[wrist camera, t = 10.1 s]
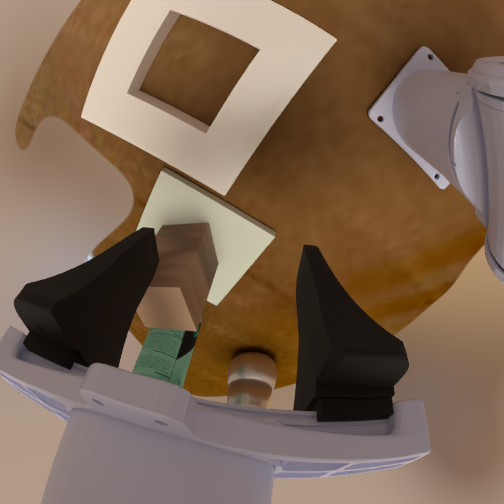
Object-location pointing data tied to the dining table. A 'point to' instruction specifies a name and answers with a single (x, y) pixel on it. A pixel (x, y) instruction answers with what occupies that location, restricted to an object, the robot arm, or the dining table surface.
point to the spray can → (166, 354)
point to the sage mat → (221, 224)
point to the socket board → (237, 104)
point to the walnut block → (180, 277)
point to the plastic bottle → (251, 380)
